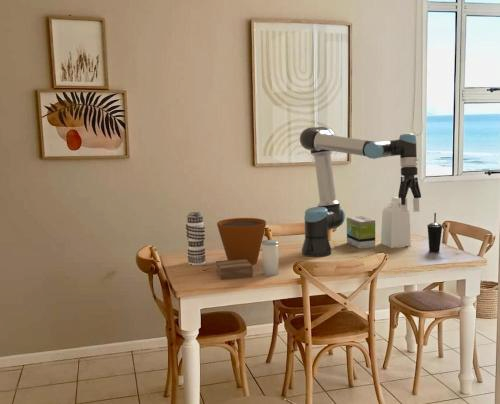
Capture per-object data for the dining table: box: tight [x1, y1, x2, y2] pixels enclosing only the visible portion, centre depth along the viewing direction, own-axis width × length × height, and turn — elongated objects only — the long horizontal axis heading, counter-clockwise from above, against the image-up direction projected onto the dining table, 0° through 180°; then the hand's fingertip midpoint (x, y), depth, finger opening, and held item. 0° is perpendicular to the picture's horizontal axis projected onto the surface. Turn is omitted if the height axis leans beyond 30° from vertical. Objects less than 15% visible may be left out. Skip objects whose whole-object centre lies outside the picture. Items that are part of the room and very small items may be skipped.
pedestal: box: [215, 259, 253, 280], centre depth 253 cm, size 14×14×5 cm
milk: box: [380, 196, 412, 249], centre depth 302 cm, size 12×12×26 cm
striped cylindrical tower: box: [185, 211, 206, 266], centre depth 274 cm, size 9×9×25 cm
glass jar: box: [261, 239, 280, 277], centre depth 251 cm, size 7×7×15 cm
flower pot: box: [216, 217, 267, 266], centre depth 274 cm, size 24×24×20 cm
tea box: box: [346, 216, 376, 249], centre depth 304 cm, size 15×10×15 cm
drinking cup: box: [426, 212, 444, 254], centre depth 285 cm, size 8×8×20 cm
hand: (410, 212), depth 264 cm, fingers open, 13 cm apart
